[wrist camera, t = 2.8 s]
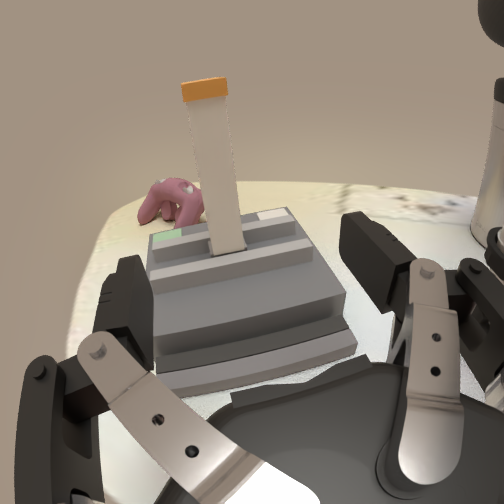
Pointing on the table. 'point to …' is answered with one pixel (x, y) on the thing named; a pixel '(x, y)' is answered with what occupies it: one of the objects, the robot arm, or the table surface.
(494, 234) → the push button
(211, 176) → the breaker lever
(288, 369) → the grey long flat bar
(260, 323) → the breaker panel
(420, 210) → the table surface
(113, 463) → the table surface
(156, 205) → the video game controller
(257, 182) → the table surface
